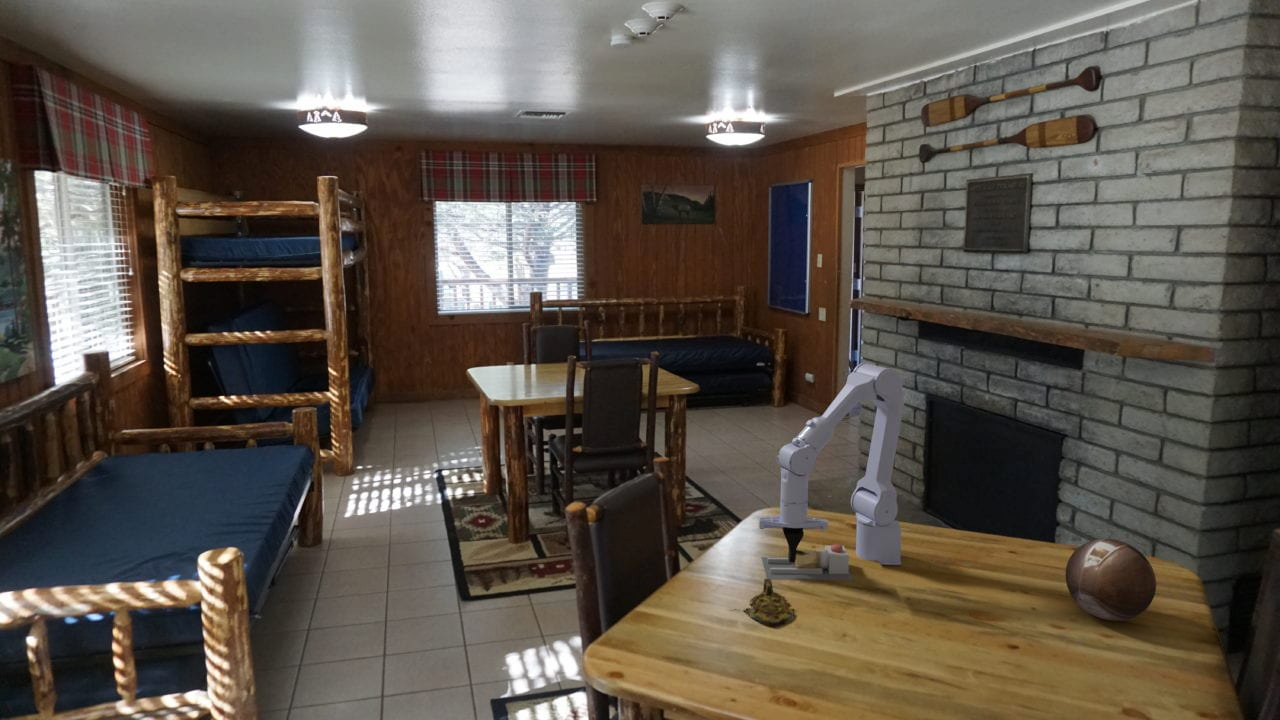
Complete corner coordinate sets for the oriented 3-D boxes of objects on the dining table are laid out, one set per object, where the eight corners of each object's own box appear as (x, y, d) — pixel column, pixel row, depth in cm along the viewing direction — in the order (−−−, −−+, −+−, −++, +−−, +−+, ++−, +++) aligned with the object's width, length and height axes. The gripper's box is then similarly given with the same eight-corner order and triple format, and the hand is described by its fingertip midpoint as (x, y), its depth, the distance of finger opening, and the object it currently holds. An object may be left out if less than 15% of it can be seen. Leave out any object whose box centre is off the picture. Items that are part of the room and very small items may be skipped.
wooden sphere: (1051, 617, 162) (1056, 542, 159) (1078, 593, 172) (1083, 522, 170) (1139, 643, 151) (1146, 563, 149) (1162, 615, 162) (1169, 540, 159)
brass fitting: (815, 561, 185) (817, 547, 183) (818, 573, 182) (820, 559, 180) (792, 560, 185) (794, 545, 184) (794, 572, 182) (797, 558, 180)
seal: (798, 634, 159) (787, 599, 174) (802, 611, 158) (790, 577, 173) (749, 629, 159) (741, 594, 174) (752, 605, 158) (744, 572, 173)
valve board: (842, 562, 189) (843, 536, 188) (853, 584, 178) (854, 556, 177) (761, 561, 190) (761, 535, 189) (767, 583, 178) (767, 556, 177)
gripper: (825, 495, 185) (822, 554, 187) (758, 493, 186) (756, 553, 188) (830, 505, 178) (828, 567, 180) (761, 503, 179) (759, 565, 181)
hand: (791, 560), depth 183 cm, fingers closed, pressing on brass fitting
